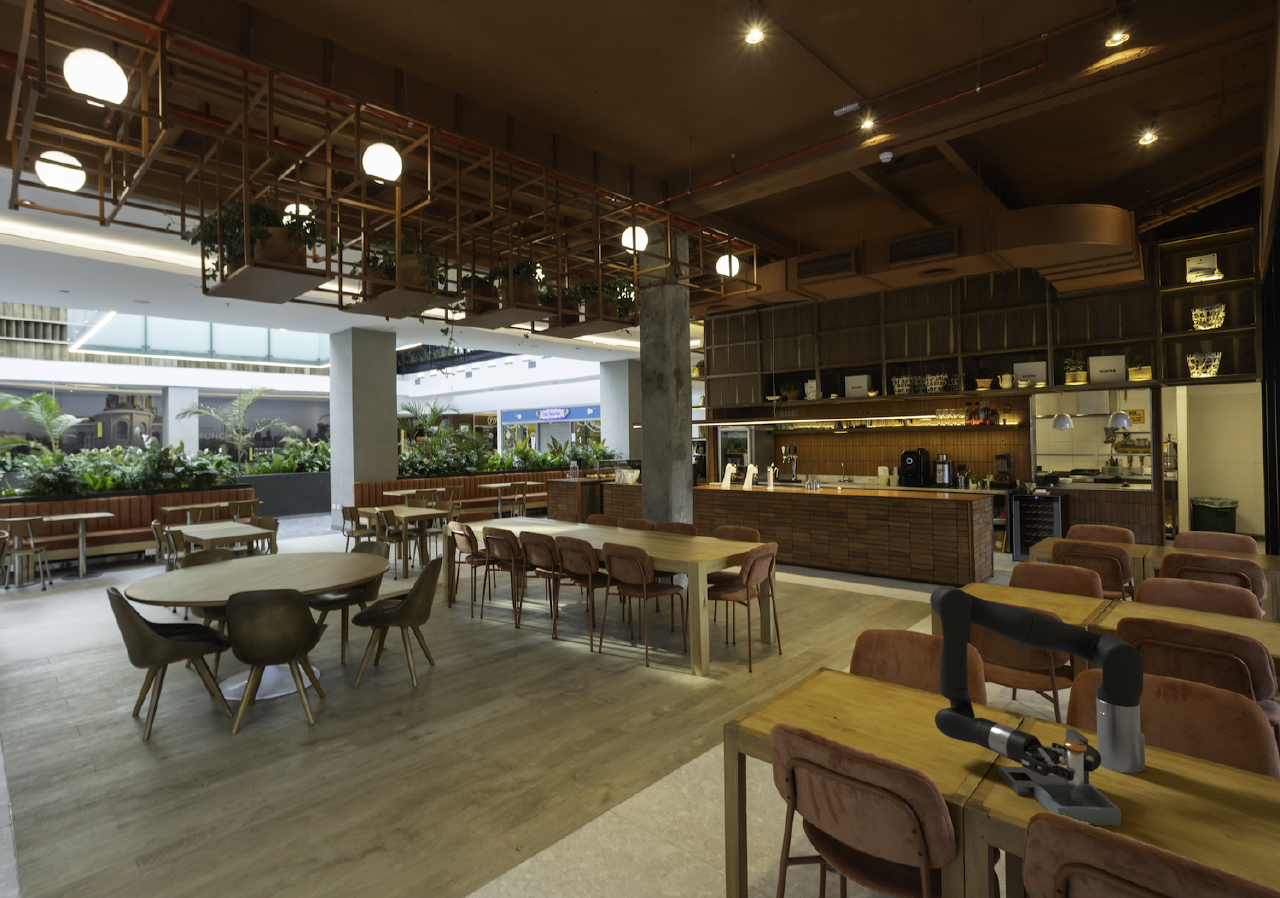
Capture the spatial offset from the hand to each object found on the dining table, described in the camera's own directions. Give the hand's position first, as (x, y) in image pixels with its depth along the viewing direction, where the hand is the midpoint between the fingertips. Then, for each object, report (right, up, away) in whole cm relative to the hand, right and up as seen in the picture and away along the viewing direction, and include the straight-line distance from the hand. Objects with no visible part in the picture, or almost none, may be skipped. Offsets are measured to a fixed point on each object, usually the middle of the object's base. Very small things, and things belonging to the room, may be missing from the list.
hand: (1083, 771), depth 149 cm
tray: (-1, -10, +2) cm, 10 cm away
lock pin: (-1, -9, +2) cm, 10 cm away
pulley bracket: (0, -10, +13) cm, 17 cm away
